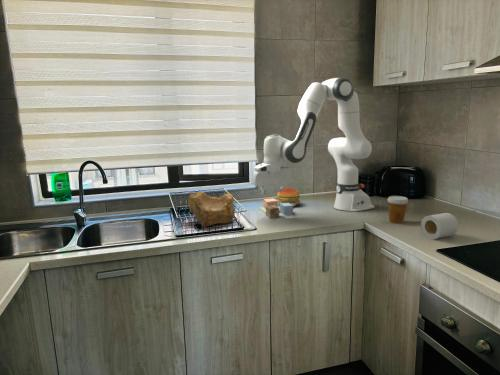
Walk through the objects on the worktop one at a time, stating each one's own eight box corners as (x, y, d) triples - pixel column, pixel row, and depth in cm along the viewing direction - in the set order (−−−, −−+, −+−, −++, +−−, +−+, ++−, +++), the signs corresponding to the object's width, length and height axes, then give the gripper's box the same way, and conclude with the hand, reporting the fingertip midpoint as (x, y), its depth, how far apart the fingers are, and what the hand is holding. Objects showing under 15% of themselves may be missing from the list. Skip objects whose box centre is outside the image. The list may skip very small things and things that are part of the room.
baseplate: (275, 207, 209) (275, 205, 209) (282, 211, 200) (282, 210, 200) (258, 209, 206) (258, 207, 206) (265, 213, 197) (265, 212, 196)
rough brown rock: (185, 231, 174) (184, 201, 169) (189, 217, 189) (188, 190, 185) (234, 231, 175) (234, 201, 170) (234, 218, 190) (234, 190, 186)
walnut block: (274, 214, 196) (274, 205, 195) (278, 217, 191) (279, 207, 190) (265, 215, 195) (265, 206, 194) (270, 218, 189) (270, 208, 188)
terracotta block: (273, 206, 206) (273, 198, 205) (277, 209, 201) (277, 200, 200) (263, 207, 205) (263, 199, 203) (267, 210, 199) (267, 201, 198)
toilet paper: (436, 231, 165) (439, 210, 163) (456, 238, 156) (459, 216, 154) (420, 235, 161) (422, 213, 159) (439, 242, 152) (441, 219, 150)
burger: (273, 203, 218) (273, 187, 216) (293, 201, 223) (294, 185, 220) (282, 209, 206) (282, 191, 204) (304, 206, 210) (304, 189, 208)
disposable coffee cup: (410, 221, 180) (412, 197, 178) (401, 225, 174) (403, 201, 171) (391, 217, 187) (393, 194, 184) (382, 221, 181) (383, 197, 178)
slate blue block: (288, 211, 201) (288, 202, 200) (293, 214, 195) (293, 205, 194) (279, 212, 199) (280, 203, 198) (284, 215, 194) (284, 206, 193)
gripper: (288, 164, 193) (287, 190, 196) (251, 166, 187) (251, 193, 190) (293, 166, 187) (293, 192, 190) (255, 168, 181) (255, 196, 184)
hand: (272, 193), depth 190 cm, fingers open, 8 cm apart
